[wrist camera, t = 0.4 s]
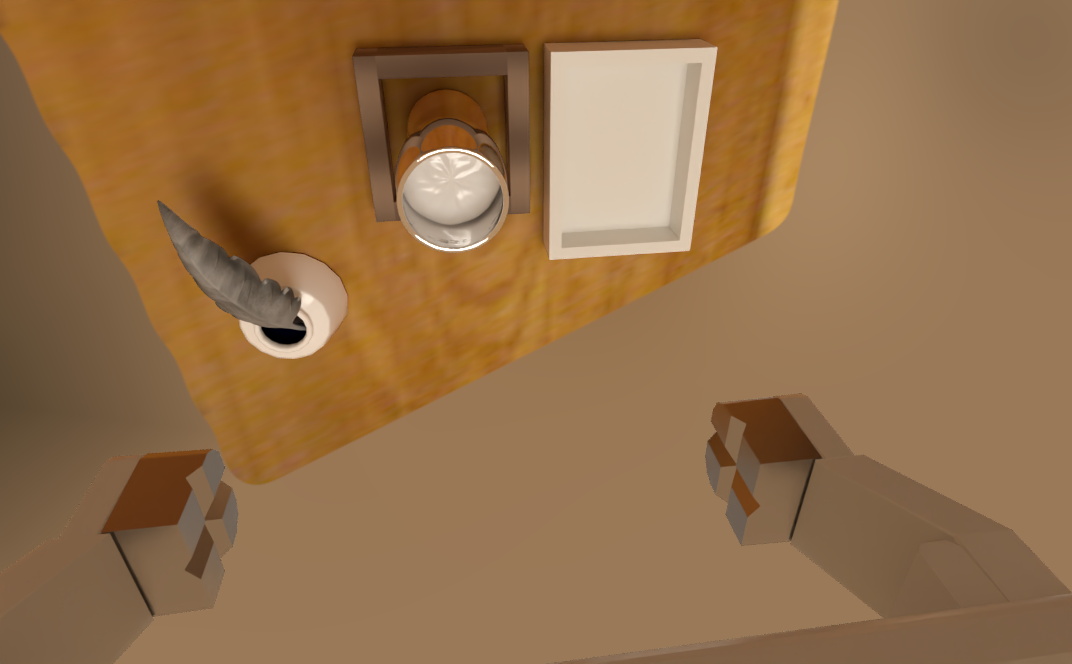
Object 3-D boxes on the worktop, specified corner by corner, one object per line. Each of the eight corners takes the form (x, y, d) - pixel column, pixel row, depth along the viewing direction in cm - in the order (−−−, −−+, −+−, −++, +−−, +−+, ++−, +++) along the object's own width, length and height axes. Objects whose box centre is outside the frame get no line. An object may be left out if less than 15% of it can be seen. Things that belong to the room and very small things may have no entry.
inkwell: (280, 358, 60) (256, 431, 52) (136, 189, 50) (78, 245, 42) (369, 317, 59) (359, 384, 51) (240, 136, 49) (202, 183, 41)
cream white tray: (543, 43, 49) (551, 52, 46) (700, 38, 50) (717, 47, 47) (543, 241, 57) (549, 259, 54) (676, 233, 59) (689, 250, 56)
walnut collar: (356, 48, 47) (352, 56, 45) (523, 43, 48) (528, 51, 46) (378, 207, 54) (376, 221, 51) (525, 199, 55) (530, 213, 53)
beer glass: (383, 136, 51) (368, 212, 38) (438, 62, 48) (441, 117, 36) (455, 190, 54) (463, 276, 41) (510, 123, 51) (536, 193, 39)
